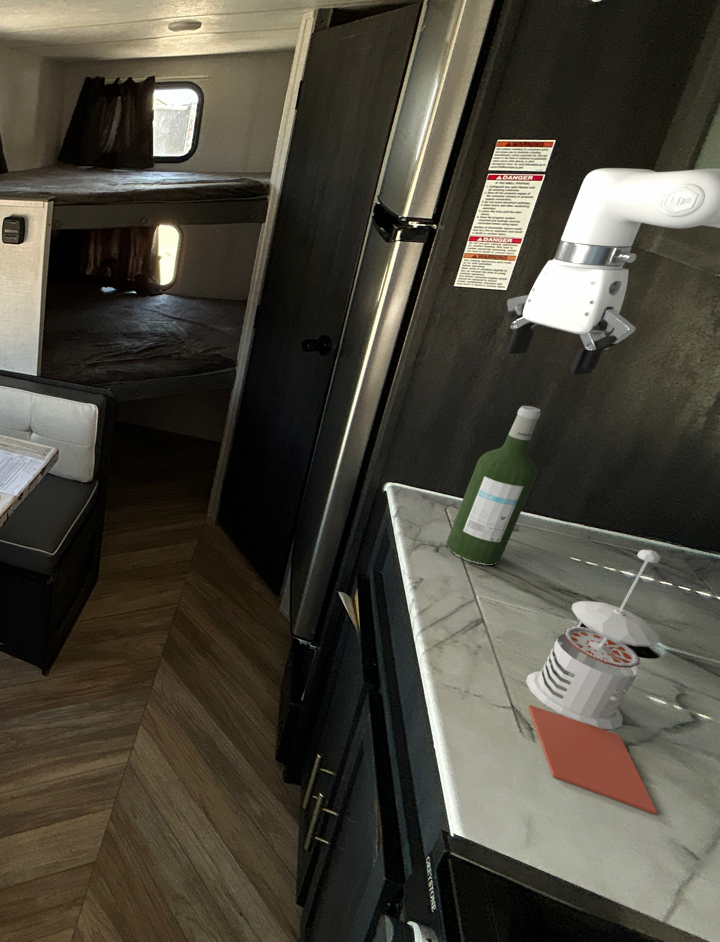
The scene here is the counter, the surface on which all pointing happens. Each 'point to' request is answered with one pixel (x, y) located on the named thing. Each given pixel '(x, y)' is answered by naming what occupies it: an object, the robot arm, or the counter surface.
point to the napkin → (590, 758)
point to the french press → (594, 661)
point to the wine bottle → (496, 495)
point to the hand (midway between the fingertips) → (546, 362)
